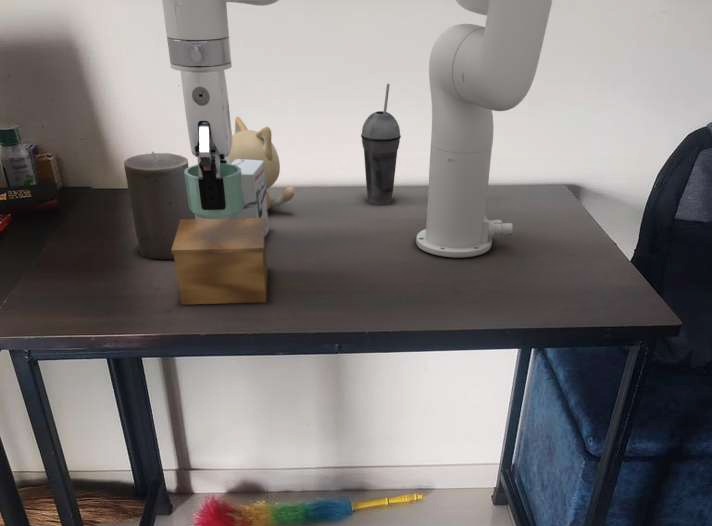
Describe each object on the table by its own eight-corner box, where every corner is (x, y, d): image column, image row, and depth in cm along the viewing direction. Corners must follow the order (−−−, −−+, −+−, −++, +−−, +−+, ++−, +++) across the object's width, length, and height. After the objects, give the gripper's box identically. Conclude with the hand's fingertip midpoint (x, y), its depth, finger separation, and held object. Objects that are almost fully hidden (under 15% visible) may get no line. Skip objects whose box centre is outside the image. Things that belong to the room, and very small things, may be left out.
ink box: (259, 248, 126) (253, 173, 119) (229, 247, 126) (221, 172, 119) (270, 230, 133) (264, 158, 125) (242, 229, 133) (235, 157, 126)
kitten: (208, 205, 143) (197, 117, 134) (253, 195, 148) (246, 110, 139) (252, 226, 134) (244, 134, 125) (298, 215, 139) (294, 125, 130)
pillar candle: (132, 259, 122) (113, 159, 112) (148, 237, 129) (131, 142, 120) (192, 261, 121) (179, 161, 112) (205, 239, 129) (193, 144, 120)
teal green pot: (245, 202, 110) (241, 162, 107) (243, 220, 104) (239, 178, 101) (192, 203, 109) (187, 162, 106) (187, 221, 104) (181, 178, 100)
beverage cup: (356, 196, 148) (356, 80, 136) (391, 193, 150) (394, 79, 138) (367, 208, 143) (368, 89, 130) (403, 205, 145) (408, 87, 132)
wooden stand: (268, 269, 119) (264, 217, 114) (267, 303, 109) (263, 247, 104) (187, 271, 118) (180, 219, 113) (179, 305, 108) (171, 249, 103)
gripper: (226, 66, 88) (240, 220, 99) (233, 43, 102) (245, 180, 113) (160, 65, 88) (182, 221, 99) (176, 42, 101) (193, 181, 112)
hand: (215, 198), depth 106 cm, fingers closed on teal green pot, 7 cm apart
